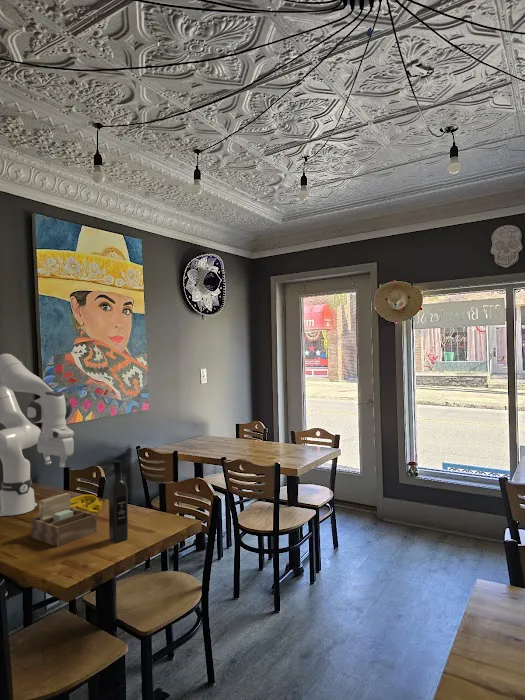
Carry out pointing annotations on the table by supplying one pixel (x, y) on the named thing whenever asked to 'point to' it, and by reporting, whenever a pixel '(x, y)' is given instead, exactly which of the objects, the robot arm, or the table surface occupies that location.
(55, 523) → the box
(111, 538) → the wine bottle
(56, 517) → the offcut short
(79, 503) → the decorative art
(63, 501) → the plywood sheet
